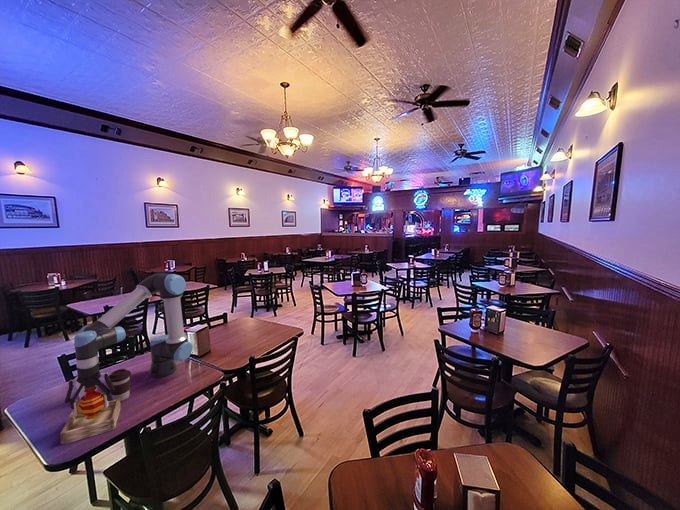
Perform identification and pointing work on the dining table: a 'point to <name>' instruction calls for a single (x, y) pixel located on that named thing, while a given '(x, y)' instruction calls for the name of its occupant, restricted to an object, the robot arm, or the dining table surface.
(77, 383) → the foam cup
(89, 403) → the potion bottle
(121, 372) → the coffee cup
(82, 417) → the tray
